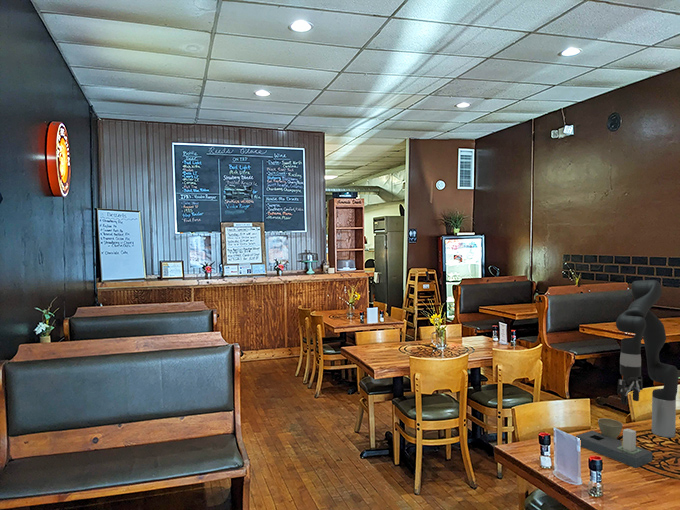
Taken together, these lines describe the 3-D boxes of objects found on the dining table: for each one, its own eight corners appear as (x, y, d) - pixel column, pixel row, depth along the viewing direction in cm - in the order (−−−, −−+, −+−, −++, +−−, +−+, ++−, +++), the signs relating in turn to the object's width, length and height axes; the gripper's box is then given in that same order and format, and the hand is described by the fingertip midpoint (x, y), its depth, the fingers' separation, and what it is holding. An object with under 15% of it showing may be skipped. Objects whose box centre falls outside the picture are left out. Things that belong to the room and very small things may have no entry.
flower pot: (597, 439, 219) (598, 423, 219) (597, 431, 228) (597, 416, 228) (623, 443, 215) (623, 427, 215) (621, 435, 224) (622, 420, 223)
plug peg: (625, 455, 202) (625, 427, 202) (635, 459, 199) (635, 431, 198) (620, 457, 201) (621, 429, 200) (630, 461, 197) (631, 432, 197)
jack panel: (592, 439, 220) (592, 430, 219) (652, 461, 197) (652, 451, 197) (575, 444, 214) (575, 435, 214) (635, 468, 191) (635, 457, 191)
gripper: (630, 359, 205) (630, 397, 205) (611, 364, 198) (611, 402, 198) (649, 363, 198) (648, 402, 199) (629, 368, 191) (629, 408, 192)
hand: (629, 402), depth 199 cm, fingers open, 8 cm apart
